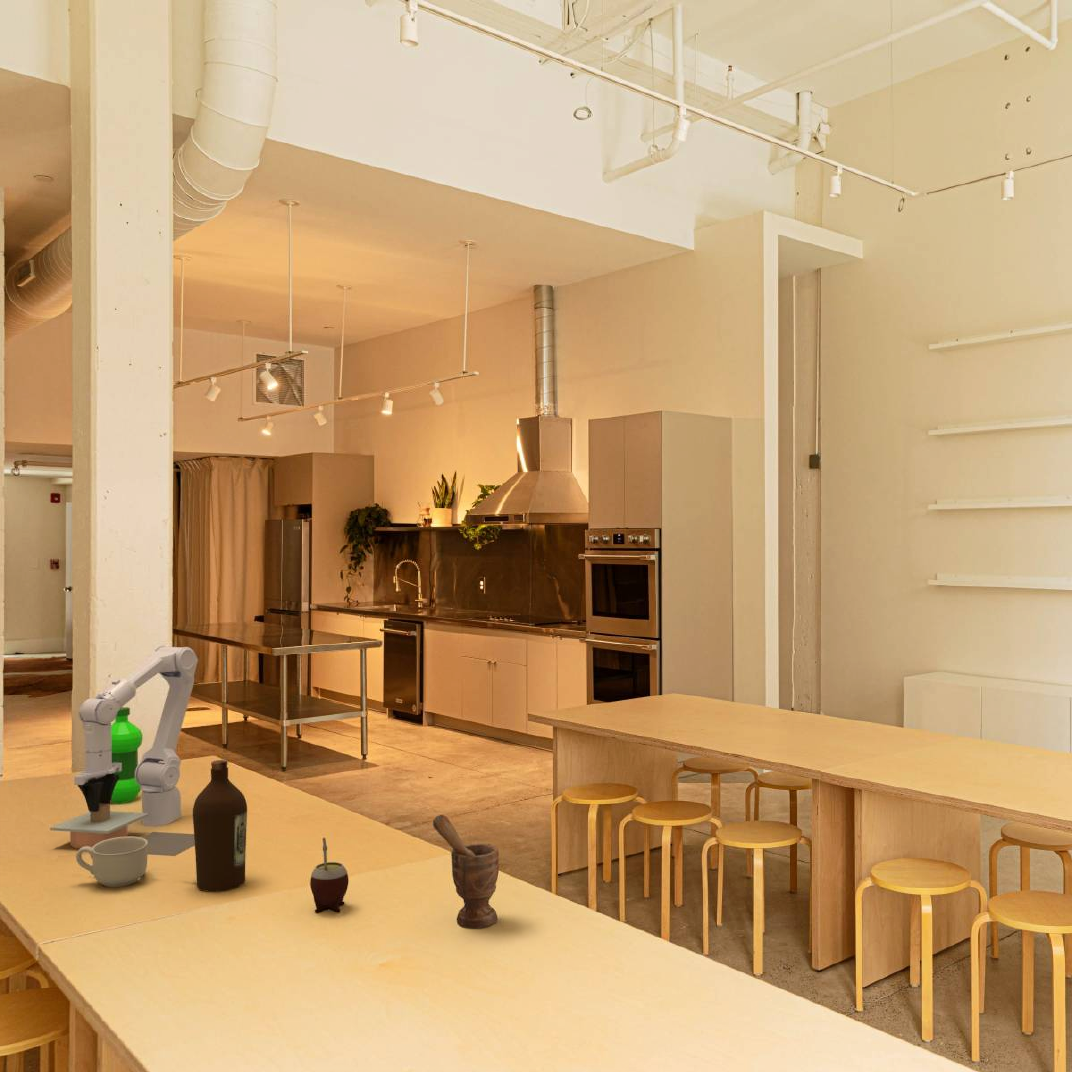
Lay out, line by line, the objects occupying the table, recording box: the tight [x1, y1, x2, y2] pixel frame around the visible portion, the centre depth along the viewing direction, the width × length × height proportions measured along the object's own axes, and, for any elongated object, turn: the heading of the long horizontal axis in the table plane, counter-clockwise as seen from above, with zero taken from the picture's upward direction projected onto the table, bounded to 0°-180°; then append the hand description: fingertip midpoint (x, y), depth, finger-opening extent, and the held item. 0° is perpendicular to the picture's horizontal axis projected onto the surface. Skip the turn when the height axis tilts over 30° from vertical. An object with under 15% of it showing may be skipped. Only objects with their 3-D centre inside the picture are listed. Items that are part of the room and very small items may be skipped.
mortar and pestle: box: [432, 814, 500, 929], centre depth 187 cm, size 12×9×20 cm
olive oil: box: [192, 759, 248, 893], centre depth 210 cm, size 11×11×25 cm
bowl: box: [69, 825, 129, 849], centre depth 240 cm, size 12×12×5 cm
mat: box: [140, 831, 195, 857], centre depth 237 cm, size 16×16×1 cm
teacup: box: [75, 835, 148, 888], centre depth 213 cm, size 14×11×8 cm
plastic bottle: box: [111, 706, 143, 804], centre depth 280 cm, size 10×10×25 cm
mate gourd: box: [309, 837, 349, 914], centre depth 195 cm, size 8×8×15 cm
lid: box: [49, 803, 148, 834], centre depth 240 cm, size 15×15×4 cm
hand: (99, 809), depth 240 cm, fingers open, 3 cm apart
